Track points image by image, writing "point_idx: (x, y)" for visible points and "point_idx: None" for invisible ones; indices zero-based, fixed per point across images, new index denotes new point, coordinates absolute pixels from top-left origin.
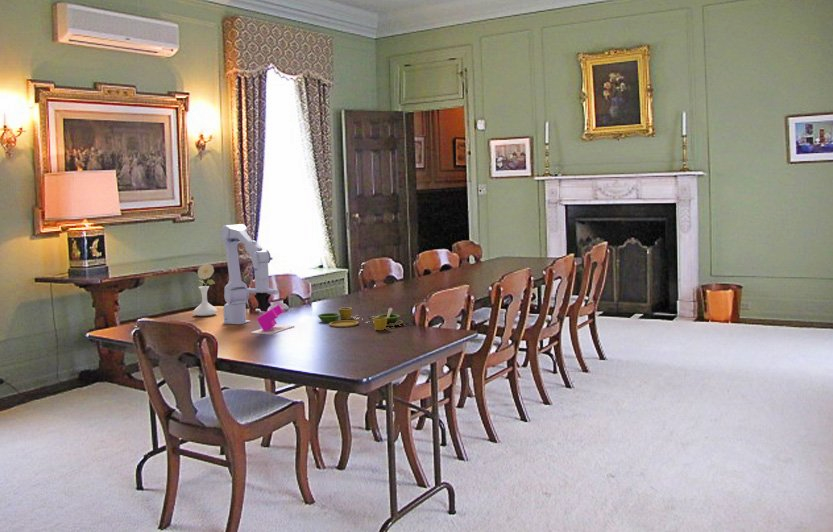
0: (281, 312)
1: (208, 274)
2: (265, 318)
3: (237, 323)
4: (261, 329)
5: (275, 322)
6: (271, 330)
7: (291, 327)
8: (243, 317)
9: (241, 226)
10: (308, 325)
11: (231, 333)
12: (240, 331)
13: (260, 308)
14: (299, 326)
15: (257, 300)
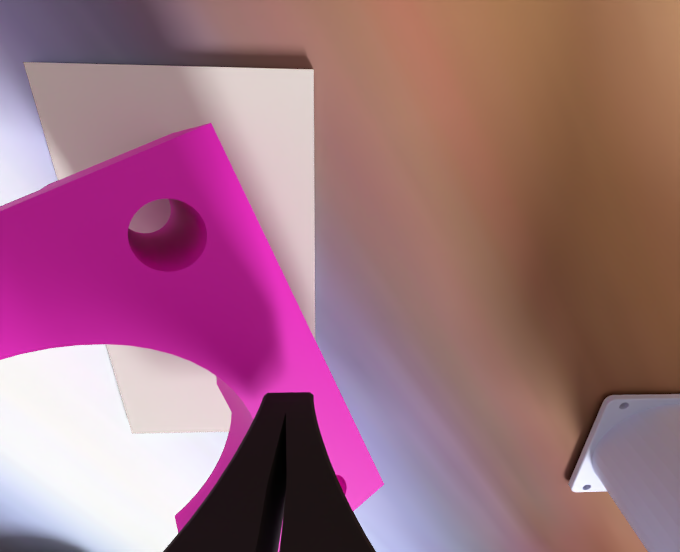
0: (185, 514)
1: None
2: (78, 175)
3: (634, 398)
4: (291, 240)
5: (219, 381)
6: (157, 221)
7: (126, 399)
8: (622, 473)
9: None
10: (80, 485)
11: (539, 9)
12: (484, 149)
13: (303, 414)
14: (113, 447)
15: (348, 538)
